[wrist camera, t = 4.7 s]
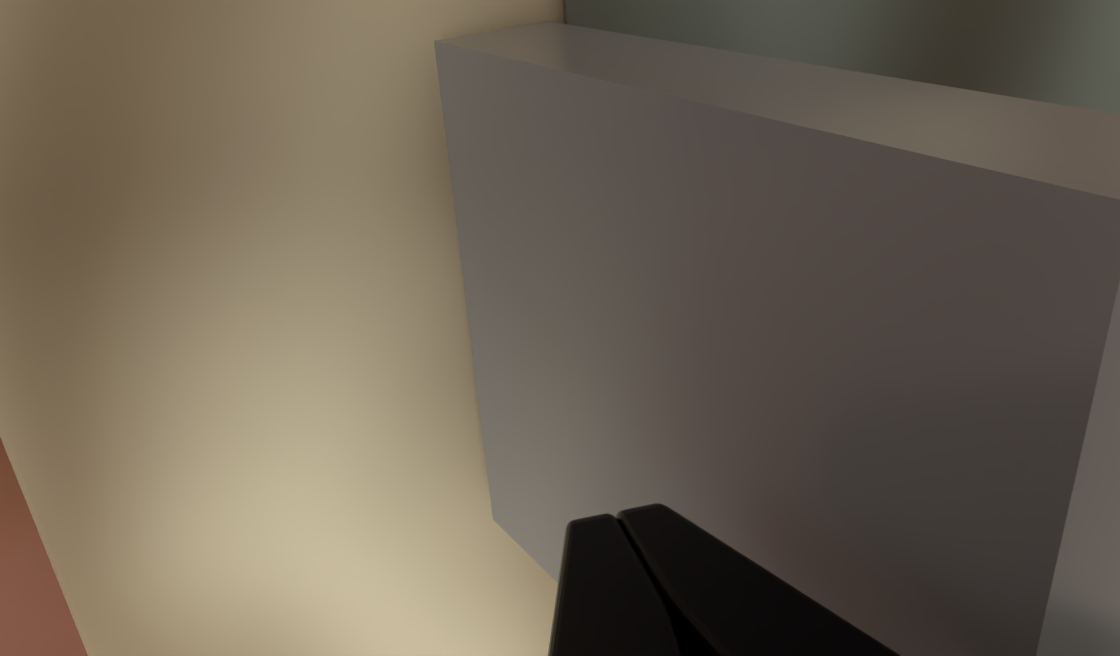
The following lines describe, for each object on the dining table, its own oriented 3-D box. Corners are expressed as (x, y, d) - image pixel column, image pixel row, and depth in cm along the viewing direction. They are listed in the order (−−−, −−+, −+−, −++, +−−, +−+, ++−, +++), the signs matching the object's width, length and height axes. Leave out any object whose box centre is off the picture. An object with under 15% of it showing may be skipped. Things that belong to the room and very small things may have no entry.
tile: (557, 18, 12) (1291, 135, 6) (587, 475, 15) (1078, 866, 9) (433, 40, 11) (1137, 203, 5) (493, 518, 14) (961, 984, 8)
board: (1250, -420, 12) (1352, -452, 11) (1046, 531, 20) (1095, 575, 18) (-267, -382, 9) (-356, -422, 8) (152, 729, 16) (139, 797, 15)
